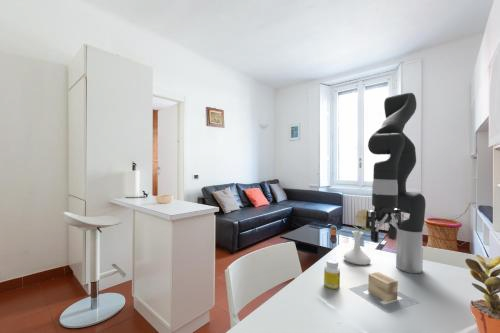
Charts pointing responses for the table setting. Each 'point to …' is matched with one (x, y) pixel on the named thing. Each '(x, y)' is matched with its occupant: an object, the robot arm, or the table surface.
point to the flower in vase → (358, 242)
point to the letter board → (388, 307)
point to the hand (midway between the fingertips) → (383, 240)
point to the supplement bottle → (332, 275)
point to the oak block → (383, 286)
